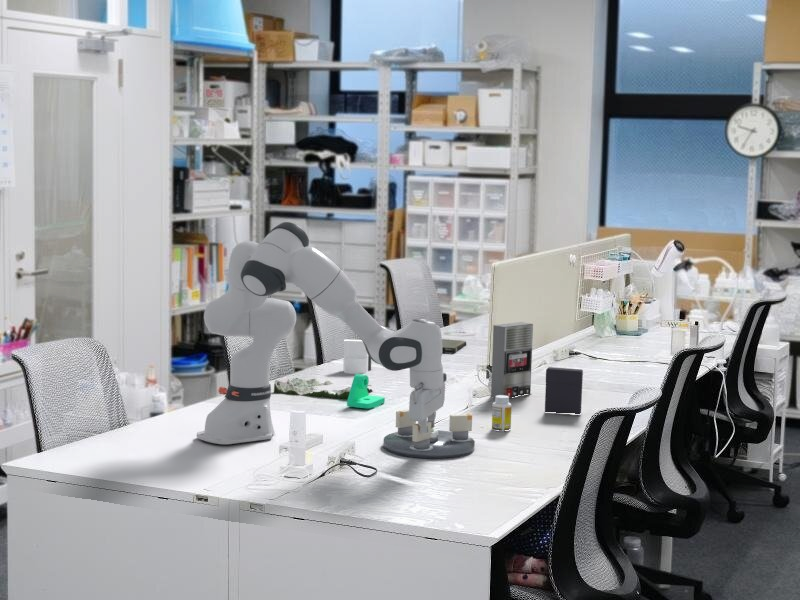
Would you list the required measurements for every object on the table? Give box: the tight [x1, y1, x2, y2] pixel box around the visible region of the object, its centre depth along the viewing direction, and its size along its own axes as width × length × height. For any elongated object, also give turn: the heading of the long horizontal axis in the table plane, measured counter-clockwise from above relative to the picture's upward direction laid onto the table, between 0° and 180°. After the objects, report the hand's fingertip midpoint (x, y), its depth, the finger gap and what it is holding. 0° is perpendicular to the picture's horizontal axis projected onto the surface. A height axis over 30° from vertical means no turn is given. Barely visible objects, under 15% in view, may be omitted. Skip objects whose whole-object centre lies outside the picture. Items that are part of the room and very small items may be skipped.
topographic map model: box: [273, 377, 374, 401], centre depth 402 cm, size 36×29×5 cm
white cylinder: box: [343, 339, 369, 375], centre depth 427 cm, size 9×9×12 cm
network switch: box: [442, 338, 467, 355], centre depth 478 cm, size 23×24×5 cm
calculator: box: [544, 366, 584, 414], centre depth 366 cm, size 11×4×15 cm, turn 74°
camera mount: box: [346, 374, 386, 410], centre depth 373 cm, size 12×8×10 cm, turn 154°
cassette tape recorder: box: [490, 321, 534, 399], centre depth 389 cm, size 14×6×25 cm, turn 131°
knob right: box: [448, 413, 473, 440], centre depth 325 cm, size 6×4×6 cm
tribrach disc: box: [382, 428, 475, 460], centre depth 323 cm, size 25×25×5 cm
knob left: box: [412, 421, 431, 449], centre depth 314 cm, size 6×4×6 cm
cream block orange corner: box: [395, 409, 417, 435], centre depth 329 cm, size 6×4×6 cm
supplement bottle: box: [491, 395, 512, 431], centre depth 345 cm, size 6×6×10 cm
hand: (427, 430), depth 314 cm, fingers closed on knob left, 4 cm apart
